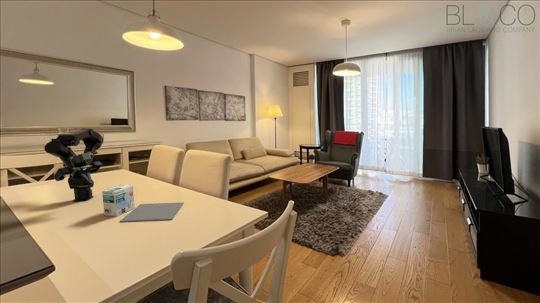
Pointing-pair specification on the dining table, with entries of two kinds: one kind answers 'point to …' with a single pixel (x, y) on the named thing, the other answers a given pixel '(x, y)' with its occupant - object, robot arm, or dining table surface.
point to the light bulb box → (118, 200)
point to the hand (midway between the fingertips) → (91, 184)
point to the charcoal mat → (153, 212)
